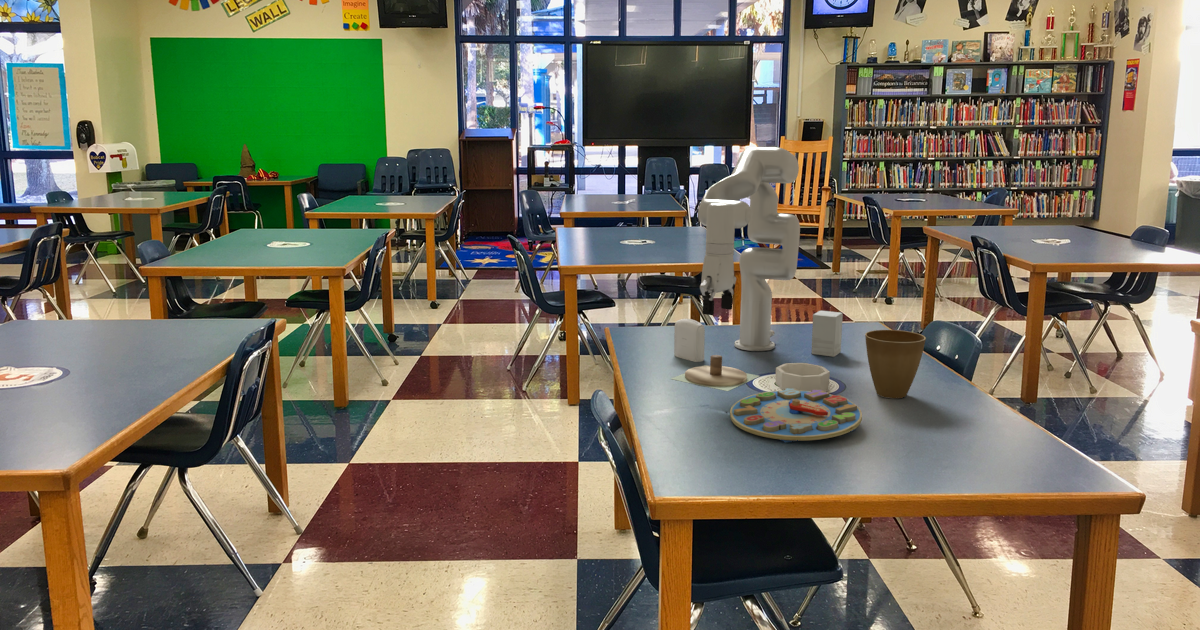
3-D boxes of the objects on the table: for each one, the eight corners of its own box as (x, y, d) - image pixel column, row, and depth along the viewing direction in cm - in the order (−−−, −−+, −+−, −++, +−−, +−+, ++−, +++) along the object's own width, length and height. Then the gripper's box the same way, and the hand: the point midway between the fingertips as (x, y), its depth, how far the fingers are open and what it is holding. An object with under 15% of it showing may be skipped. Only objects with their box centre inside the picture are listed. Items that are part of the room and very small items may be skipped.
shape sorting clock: (706, 412, 218) (706, 389, 216) (808, 398, 230) (809, 375, 228) (777, 455, 190) (778, 428, 189) (889, 436, 202) (891, 411, 201)
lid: (705, 365, 256) (706, 345, 254) (757, 376, 246) (758, 355, 244) (673, 378, 243) (673, 357, 241) (726, 390, 232) (727, 368, 231)
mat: (704, 366, 257) (704, 364, 256) (760, 377, 246) (760, 375, 246) (670, 380, 243) (670, 378, 243) (727, 393, 232) (727, 391, 232)
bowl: (790, 377, 246) (791, 360, 245) (834, 386, 238) (835, 368, 237) (768, 388, 236) (769, 370, 235) (813, 398, 228) (815, 379, 227)
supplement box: (841, 352, 274) (843, 312, 271) (833, 357, 267) (836, 316, 265) (818, 348, 277) (820, 309, 275) (810, 354, 271) (812, 314, 269)
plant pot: (929, 393, 232) (935, 334, 228) (906, 407, 221) (911, 345, 218) (876, 382, 242) (880, 326, 238) (851, 394, 231) (855, 335, 227)
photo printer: (671, 357, 267) (672, 317, 264) (681, 355, 270) (682, 315, 267) (696, 364, 259) (697, 323, 257) (706, 362, 262) (707, 321, 259)
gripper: (723, 244, 245) (721, 305, 249) (690, 251, 232) (688, 314, 235) (747, 247, 241) (745, 308, 244) (715, 253, 227) (712, 318, 231)
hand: (717, 311), depth 240 cm, fingers open, 9 cm apart
